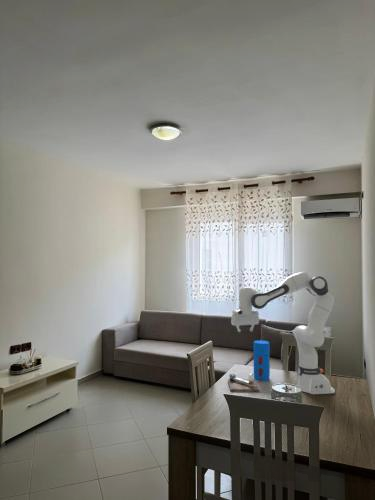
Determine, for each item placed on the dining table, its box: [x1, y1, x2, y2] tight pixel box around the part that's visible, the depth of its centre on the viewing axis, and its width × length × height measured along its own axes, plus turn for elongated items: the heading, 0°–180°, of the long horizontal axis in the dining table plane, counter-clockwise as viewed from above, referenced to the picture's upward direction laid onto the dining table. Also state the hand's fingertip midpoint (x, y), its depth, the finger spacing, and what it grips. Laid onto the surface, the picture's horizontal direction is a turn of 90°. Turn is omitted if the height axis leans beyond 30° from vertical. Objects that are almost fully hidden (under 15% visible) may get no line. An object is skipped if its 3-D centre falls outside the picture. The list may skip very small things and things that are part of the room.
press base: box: [227, 378, 261, 393], centre depth 224 cm, size 18×19×2 cm
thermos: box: [253, 340, 271, 382], centre depth 240 cm, size 11×11×25 cm
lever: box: [229, 373, 254, 385], centre depth 226 cm, size 18×4×7 cm, turn 43°
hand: (245, 331), depth 236 cm, fingers open, 8 cm apart
